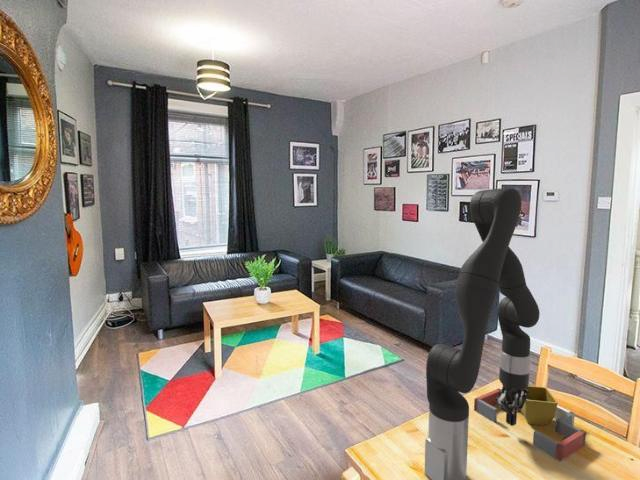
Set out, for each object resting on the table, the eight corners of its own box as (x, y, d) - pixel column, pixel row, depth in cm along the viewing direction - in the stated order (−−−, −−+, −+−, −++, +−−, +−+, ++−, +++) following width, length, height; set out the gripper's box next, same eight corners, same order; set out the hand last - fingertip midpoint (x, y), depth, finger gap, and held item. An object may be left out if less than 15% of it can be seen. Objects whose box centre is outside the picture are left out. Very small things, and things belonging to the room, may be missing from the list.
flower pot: (556, 431, 107) (558, 402, 106) (524, 427, 109) (525, 399, 108) (544, 413, 116) (546, 387, 114) (514, 410, 117) (516, 384, 116)
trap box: (596, 437, 104) (597, 424, 104) (560, 461, 95) (561, 447, 94) (510, 393, 127) (510, 383, 127) (474, 410, 118) (474, 398, 117)
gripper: (512, 378, 97) (509, 438, 99) (541, 367, 103) (537, 423, 105) (487, 367, 103) (484, 423, 106) (516, 357, 110) (512, 410, 112)
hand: (511, 423), depth 105 cm, fingers closed
